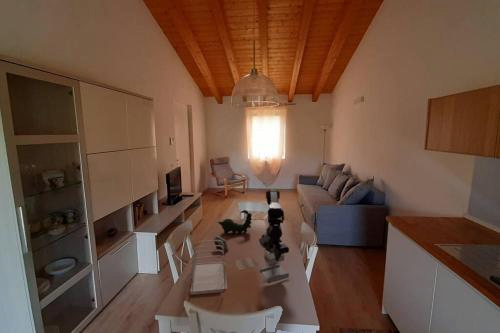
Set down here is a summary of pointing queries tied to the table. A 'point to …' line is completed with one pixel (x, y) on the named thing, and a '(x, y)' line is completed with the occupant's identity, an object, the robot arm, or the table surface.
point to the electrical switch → (221, 243)
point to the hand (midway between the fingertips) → (274, 258)
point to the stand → (245, 263)
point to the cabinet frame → (274, 273)
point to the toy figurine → (234, 227)
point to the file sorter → (208, 273)
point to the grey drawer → (272, 256)
